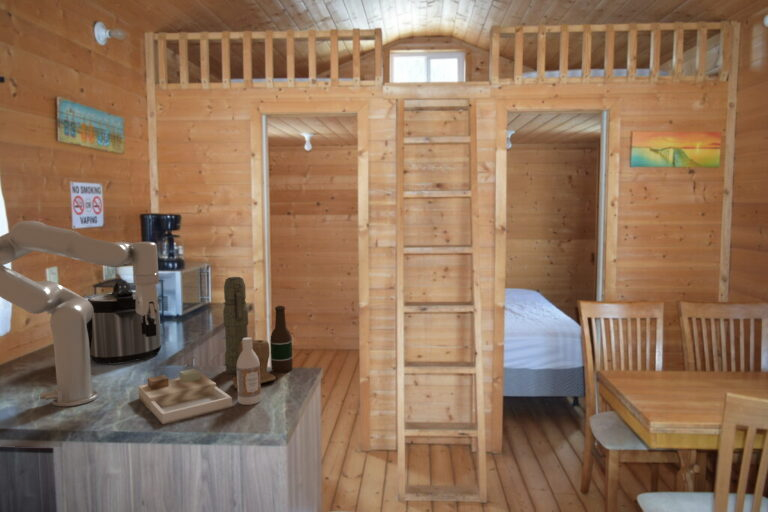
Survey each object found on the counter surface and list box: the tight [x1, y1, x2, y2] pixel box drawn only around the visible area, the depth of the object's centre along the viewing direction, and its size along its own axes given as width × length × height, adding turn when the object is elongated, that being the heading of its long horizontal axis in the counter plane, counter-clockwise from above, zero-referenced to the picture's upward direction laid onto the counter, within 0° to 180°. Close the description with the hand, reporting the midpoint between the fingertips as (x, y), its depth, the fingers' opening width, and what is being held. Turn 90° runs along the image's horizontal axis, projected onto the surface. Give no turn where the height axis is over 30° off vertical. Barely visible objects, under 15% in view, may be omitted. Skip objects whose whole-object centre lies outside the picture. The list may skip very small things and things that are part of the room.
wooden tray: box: [137, 372, 217, 412], centre depth 165 cm, size 20×14×4 cm
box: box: [150, 386, 233, 425], centre depth 154 cm, size 20×13×3 cm, turn 128°
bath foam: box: [236, 336, 262, 406], centre depth 159 cm, size 7×7×20 cm
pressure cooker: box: [86, 280, 162, 365], centre depth 213 cm, size 30×28×32 cm
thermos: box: [222, 276, 249, 375], centre depth 191 cm, size 9×12×35 cm
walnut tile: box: [147, 374, 169, 390], centre depth 164 cm, size 5×5×2 cm
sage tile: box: [179, 368, 201, 383], centre depth 170 cm, size 5×5×2 cm
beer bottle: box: [270, 305, 293, 374], centre depth 191 cm, size 8×8×24 cm
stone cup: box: [232, 339, 277, 389], centre depth 177 cm, size 15×12×15 cm
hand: (149, 334), depth 169 cm, fingers open, 3 cm apart
